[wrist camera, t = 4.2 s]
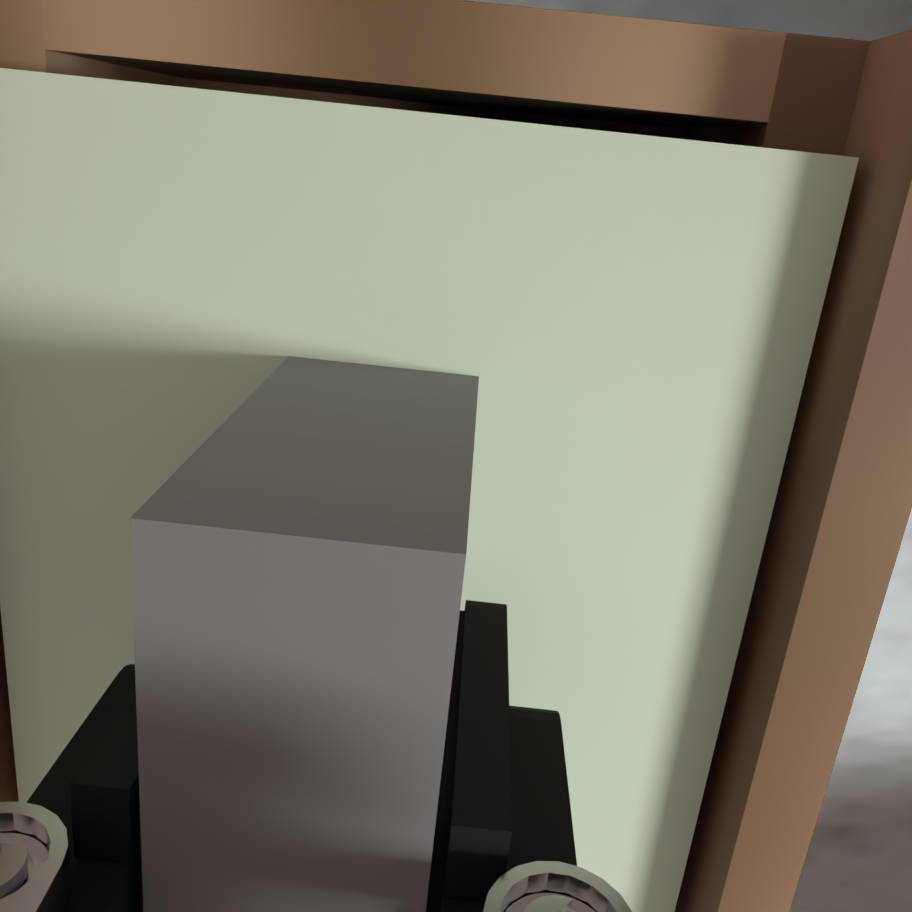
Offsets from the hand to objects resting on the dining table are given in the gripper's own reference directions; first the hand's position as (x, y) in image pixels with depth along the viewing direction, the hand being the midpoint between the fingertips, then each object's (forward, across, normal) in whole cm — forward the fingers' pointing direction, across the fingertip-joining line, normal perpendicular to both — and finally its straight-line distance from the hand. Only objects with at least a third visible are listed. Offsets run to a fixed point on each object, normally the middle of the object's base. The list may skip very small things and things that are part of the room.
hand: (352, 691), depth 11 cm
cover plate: (+2, 0, 0) cm, 2 cm away
